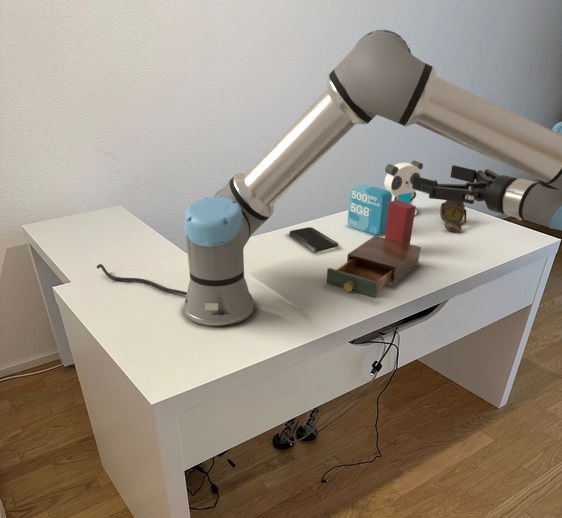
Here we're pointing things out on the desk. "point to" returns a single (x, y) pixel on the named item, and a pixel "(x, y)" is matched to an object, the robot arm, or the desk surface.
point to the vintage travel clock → (453, 215)
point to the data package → (369, 208)
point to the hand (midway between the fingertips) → (433, 176)
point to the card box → (400, 221)
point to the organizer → (388, 254)
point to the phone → (313, 239)
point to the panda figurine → (402, 181)
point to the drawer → (360, 277)
